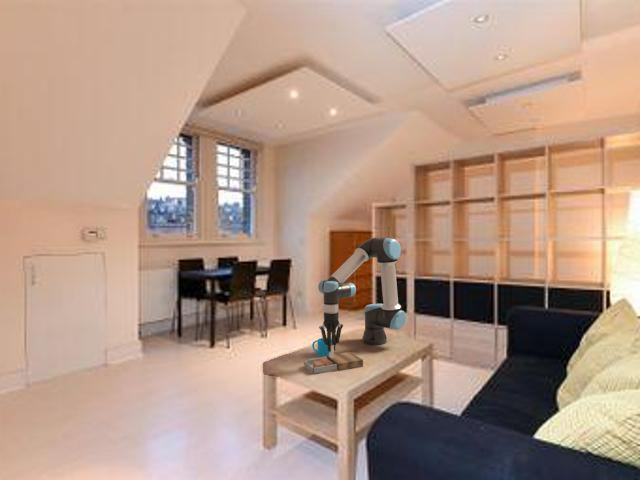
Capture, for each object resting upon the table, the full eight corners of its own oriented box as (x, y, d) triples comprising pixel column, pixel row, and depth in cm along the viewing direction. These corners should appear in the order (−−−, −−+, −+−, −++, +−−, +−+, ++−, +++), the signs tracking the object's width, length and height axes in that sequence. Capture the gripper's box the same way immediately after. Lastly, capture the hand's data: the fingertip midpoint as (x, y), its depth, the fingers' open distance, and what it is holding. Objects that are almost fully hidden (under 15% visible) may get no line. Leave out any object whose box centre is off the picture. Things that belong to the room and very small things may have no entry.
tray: (326, 362, 209) (326, 356, 208) (337, 370, 198) (337, 364, 197) (304, 366, 203) (304, 360, 203) (313, 374, 192) (313, 368, 192)
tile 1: (313, 361, 201) (313, 366, 201) (316, 364, 197) (316, 369, 197) (321, 360, 203) (321, 365, 203) (324, 363, 199) (324, 368, 199)
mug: (334, 353, 224) (334, 338, 223) (328, 357, 216) (328, 342, 216) (315, 350, 229) (315, 336, 229) (308, 354, 222) (308, 340, 221)
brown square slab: (349, 357, 215) (349, 351, 215) (363, 366, 202) (362, 359, 202) (326, 361, 210) (326, 355, 209) (338, 370, 197) (338, 363, 197)
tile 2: (326, 364, 204) (329, 360, 205) (330, 367, 200) (333, 362, 201) (320, 360, 203) (323, 355, 203) (324, 362, 199) (326, 358, 199)
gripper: (339, 309, 208) (339, 353, 209) (316, 311, 203) (316, 357, 204) (345, 312, 201) (346, 357, 202) (322, 314, 196) (322, 361, 197)
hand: (331, 357), depth 203 cm, fingers closed
